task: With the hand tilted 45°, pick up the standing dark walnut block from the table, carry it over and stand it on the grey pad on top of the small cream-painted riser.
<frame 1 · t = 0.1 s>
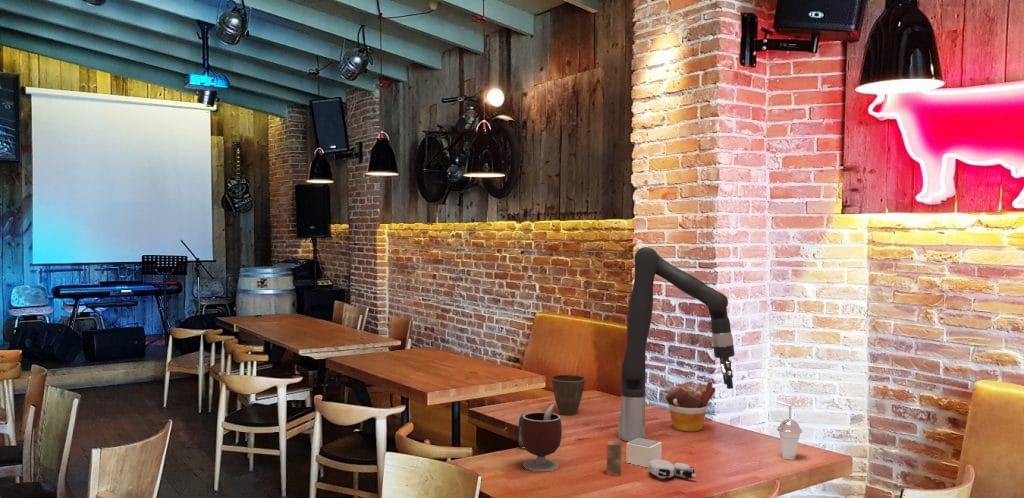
hand: (728, 386, 282), 22 cm above the table, tool pointing down, fingers open, 8 cm apart
mate gourd: (542, 466, 253), on the table
bucket of meat: (688, 429, 305), on the table
riser: (643, 462, 257), on the table
cup with straw: (788, 458, 266), on the table
walnut block: (614, 472, 246), on the table
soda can: (527, 447, 275), on the table
robot toy: (671, 477, 243), on the table
plant pot: (567, 414, 329), on the table
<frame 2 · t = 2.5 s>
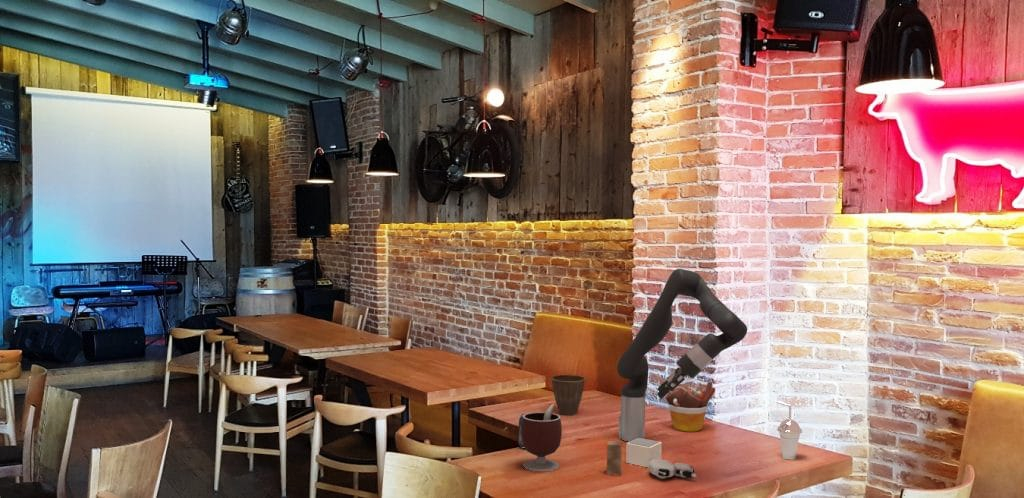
hand: (658, 394, 244), 27 cm above the table, tool tilted 45°, fingers open, 8 cm apart
nothing on the table moved.
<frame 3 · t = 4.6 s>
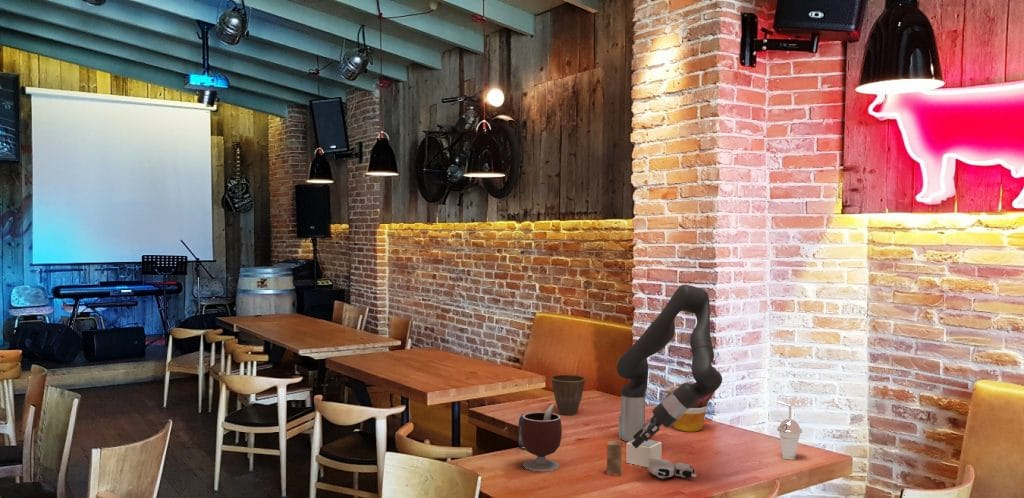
hand: (634, 442, 244), 11 cm above the table, tool tilted 45°, fingers open, 8 cm apart
nothing on the table moved.
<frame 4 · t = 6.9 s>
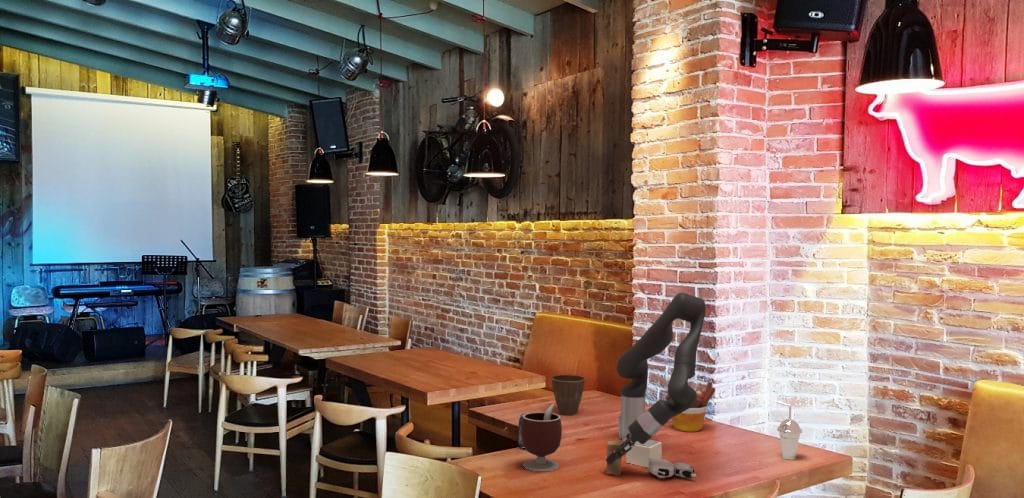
hand: (608, 460, 246), 4 cm above the table, tool tilted 45°, fingers closed on walnut block, 4 cm apart
walnut block: (614, 472, 246), on the table, touching gripper
everything else where it was.
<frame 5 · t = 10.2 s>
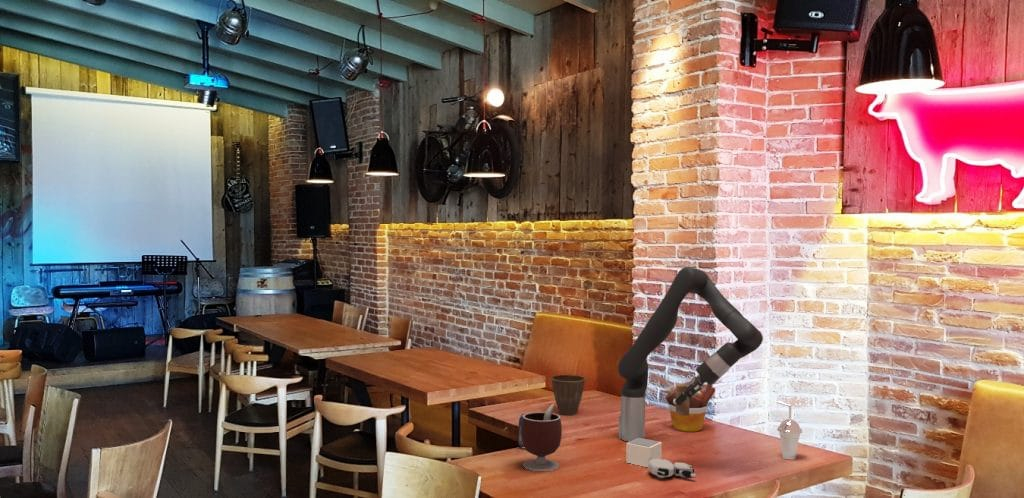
hand: (676, 401, 255), 22 cm above the table, tool tilted 45°, fingers closed on walnut block, 4 cm apart
walnut block: (682, 413, 254), point 18 cm above the table, touching gripper
everything else where it was.
when the fingers open (12 cm above the table, at t = 13.5 s): walnut block stays where it is, resting on riser.
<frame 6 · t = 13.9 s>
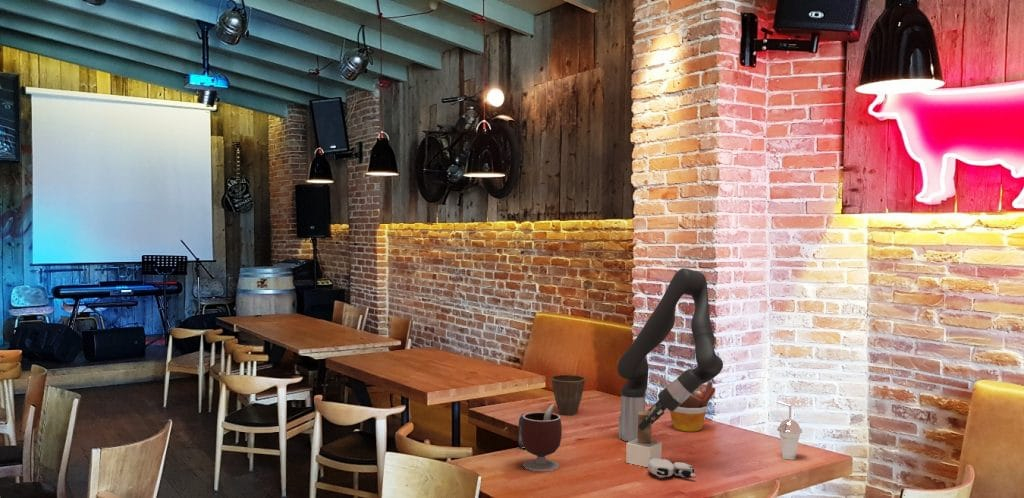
hand: (640, 425, 258), 13 cm above the table, tool tilted 45°, fingers open, 8 cm apart
walnut block: (644, 441, 257), point 7 cm above the table, touching riser
everything else where it was.
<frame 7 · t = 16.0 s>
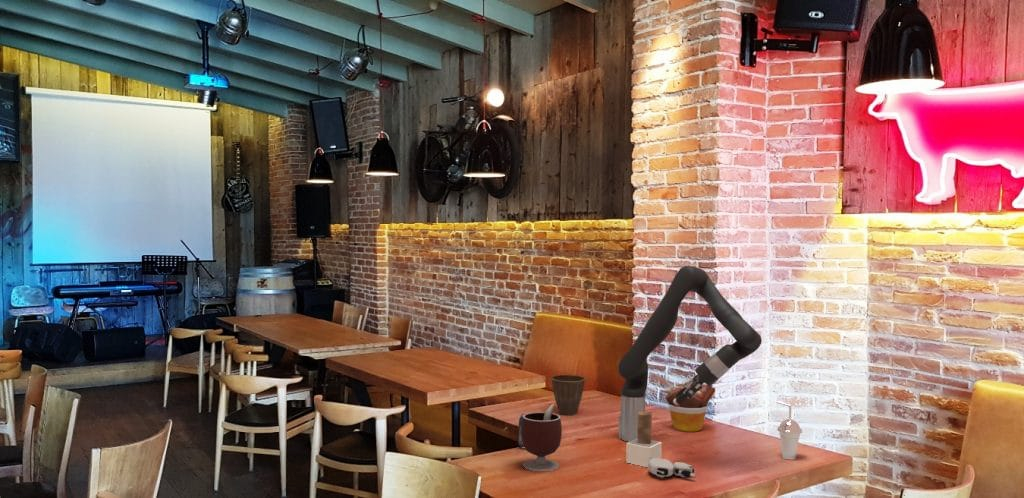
hand: (677, 399, 259), 22 cm above the table, tool tilted 45°, fingers open, 8 cm apart
nothing on the table moved.
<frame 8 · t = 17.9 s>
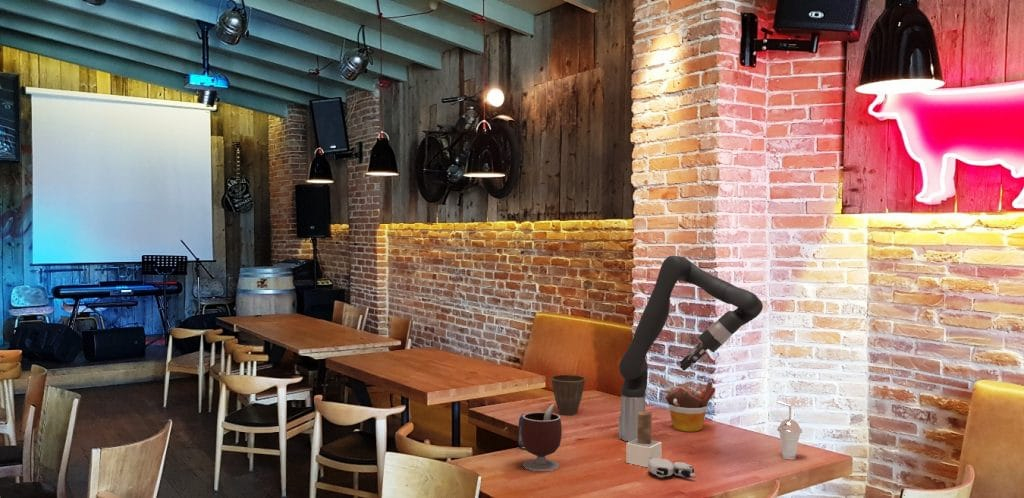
hand: (681, 366, 264), 33 cm above the table, tool tilted 45°, fingers open, 8 cm apart
at the end: walnut block inside the target area on the riser (0.1 cm from its centre), point 7.3 cm above the riser's base; walnut block tilted 0°; the gripper is holding nothing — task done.
